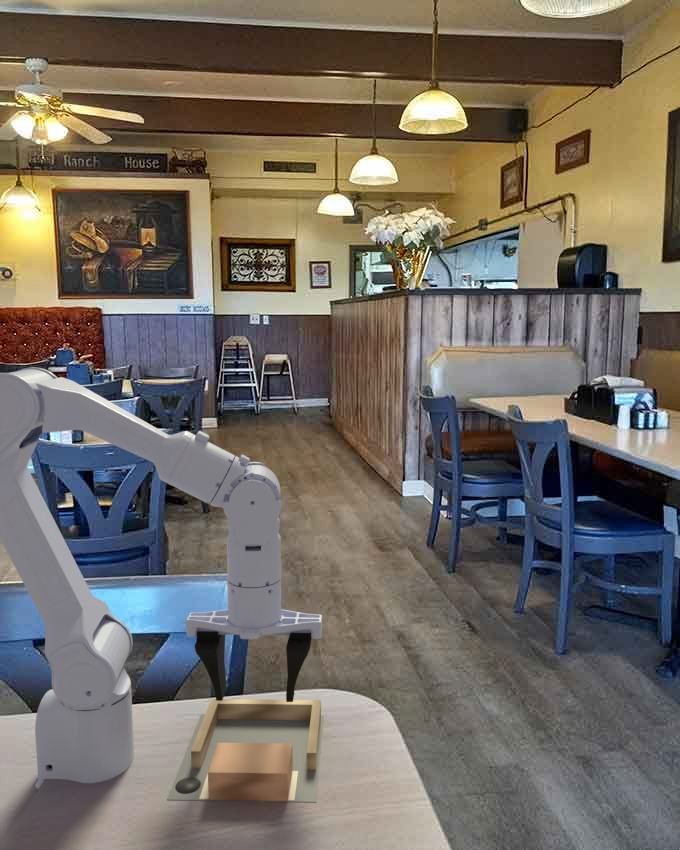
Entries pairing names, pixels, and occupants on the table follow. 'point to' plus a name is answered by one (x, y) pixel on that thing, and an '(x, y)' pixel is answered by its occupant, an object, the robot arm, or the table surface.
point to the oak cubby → (258, 711)
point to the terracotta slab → (250, 772)
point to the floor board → (293, 732)
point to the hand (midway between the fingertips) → (255, 696)
